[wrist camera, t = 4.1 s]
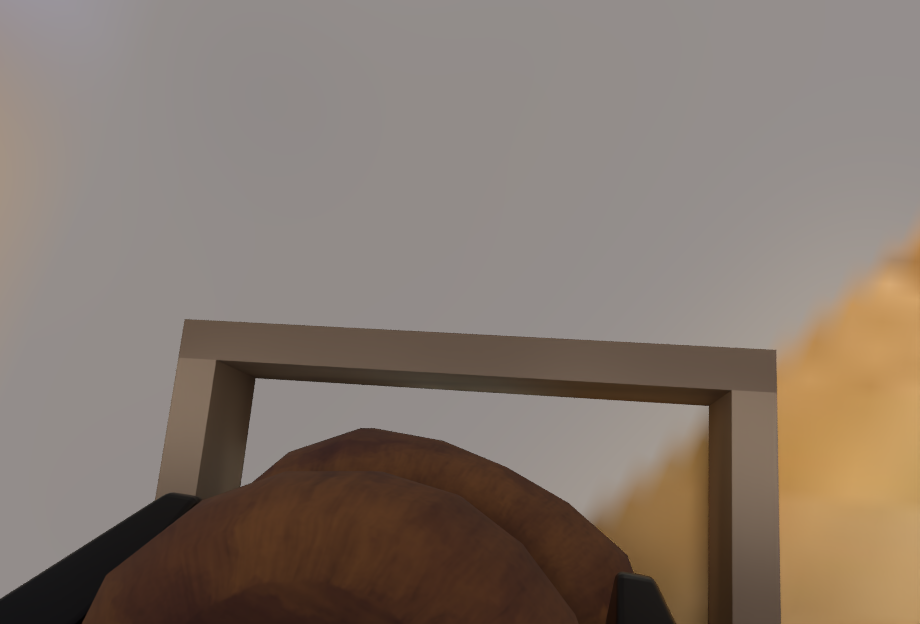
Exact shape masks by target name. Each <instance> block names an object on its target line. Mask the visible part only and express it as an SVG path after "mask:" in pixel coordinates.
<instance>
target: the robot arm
mask: <svg viewBox="0 0 920 624" xmlns="http://www.w3.org/2000/svg"><path fill="white" fill-rule="evenodd" d="M201 501H202V499H201V498H200V497H198V496H193V495H188V494H182V493H176V492H171V493H168V494H165V495H163V496H161V497H160V498H158V499H157V500H155V501H153V502H152V503H150V504H149V505H147V506H146V507H144V508H143V509H141V510H139V511H138V512H136V513H135V514H133V515H132V516H130V517H128V518H127V519H125V520H124V521H122V522H120V523H119V524H117V525H116V526H114V527H113V528H111V529H109V530H108V531H106V532H105V533H103V534H102V535H100V536H98V537H97V538H95V539H94V540H92V541H91V542H89V543H87V544H86V545H84V546H83V547H81V548H80V549H78V550H76V551H75V552H73V553H72V554H70V555H69V556H67V557H66V558H64V559H62V560H61V561H59V562H57V563H56V564H54V565H53V566H51V567H50V568H48V569H46V570H45V571H43V572H42V573H40V574H39V575H37V576H35V577H34V578H32V579H31V580H29V581H28V582H26V583H24V584H23V585H21V586H20V587H18V588H17V589H15V590H13V591H12V592H10V593H9V594H7V595H6V596H4V597H3V598H1V599H0V624H82V622H83V620H84V618H85V616H86V614H87V612H88V610H89V608H90V606H91V604H92V602H93V600H94V598H95V596H96V594H97V592H98V590H99V588H100V586H101V584H102V582H103V580H104V578H105V576H106V575H107V574H108V573H109V572H111V571H112V570H113V569H115V568H116V567H117V566H118V565H120V564H121V563H122V562H124V561H125V560H126V559H127V558H129V557H130V556H131V555H133V554H134V553H135V552H136V551H138V550H139V549H140V548H142V547H143V546H144V545H145V544H147V543H148V542H149V541H151V540H152V539H153V538H154V537H156V536H157V535H158V534H160V533H161V532H162V531H163V530H165V529H166V528H167V527H169V526H170V525H171V524H172V523H174V522H175V521H176V520H178V519H179V518H180V517H181V516H183V515H184V514H185V513H187V512H188V511H189V510H190V509H192V508H193V507H194V506H196V505H197V504H198V503H199V502H201ZM606 624H676V623H675V621H674V619H673V617H672V615H671V612H670V610H669V608H668V606H667V604H666V602H665V600H664V598H663V596H662V594H661V592H660V590H659V587H658V586H657V584H656V582H655V581H654V579H652V578H651V577H649V576H645V575H640V574H634V573H628V572H619V573H617V575H616V576H615V579H614V584H613V589H612V594H611V599H610V604H609V608H608V613H607V618H606Z"/></svg>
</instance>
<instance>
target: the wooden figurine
mask: <svg viewBox="0 0 920 624" xmlns="http://www.w3.org/2000/svg"><path fill="white" fill-rule="evenodd" d="M619 572H628V573H633V570H632V567H631V565H630V562H629V559H628V556H627V555H626V554H625V553H624V552H623V551H622V550H621V549H620V548H619V547H617V546H616V545H615V544H614V543H613V542H612V541H611V540H610V539H608V538H607V537H606V536H605V535H604V534H603V533H602V532H601V531H599V530H598V529H597V528H596V527H595V526H594V525H593V524H591V523H590V522H589V521H588V520H587V519H586V518H585V517H584V516H582V515H581V514H580V513H579V512H578V511H577V510H576V509H575V508H573V507H572V506H571V505H570V504H569V503H567V502H566V501H564V500H562V499H561V498H559V497H557V496H555V495H554V494H552V493H550V492H548V491H547V490H545V489H543V488H541V487H540V486H538V485H536V484H535V483H533V482H531V481H529V480H528V479H526V478H524V477H523V476H521V475H519V474H517V473H516V472H514V471H512V470H510V469H509V468H507V467H505V466H502V465H500V464H498V463H495V462H493V461H490V460H487V459H485V458H483V457H480V456H478V455H476V454H473V453H471V452H469V451H466V450H464V449H461V448H459V447H456V446H454V445H451V444H449V443H447V442H444V441H440V440H435V439H430V438H424V437H419V436H413V435H408V434H403V433H397V432H392V431H386V430H381V429H375V428H360V429H357V430H354V431H351V432H348V433H345V434H342V435H339V436H336V437H333V438H330V439H327V440H324V441H321V442H318V443H315V444H312V445H309V446H306V447H303V448H300V449H297V450H294V451H291V452H289V453H288V454H286V455H285V456H284V457H283V458H281V459H280V460H279V461H278V462H276V463H275V464H274V465H273V466H272V467H271V468H269V469H268V470H267V471H266V472H265V473H263V474H262V475H261V476H260V477H258V478H257V479H256V480H255V481H253V482H252V483H250V484H248V485H245V486H242V487H239V488H236V489H233V490H230V491H227V492H225V493H222V494H219V495H216V496H213V497H210V498H207V499H204V500H202V501H201V502H199V503H198V504H197V505H196V506H194V507H193V508H192V509H190V510H189V511H188V512H187V513H185V514H184V515H183V516H181V517H180V518H179V519H178V520H176V521H175V522H174V523H172V524H171V525H170V526H169V527H167V528H166V529H165V530H163V531H162V532H161V533H160V534H158V535H157V536H156V537H154V538H153V539H152V540H151V541H149V542H148V543H147V544H145V545H144V546H143V547H142V548H140V549H139V550H138V551H136V552H135V553H134V554H133V555H131V556H130V557H129V558H127V559H126V560H125V561H124V562H122V563H121V564H120V565H118V566H117V567H116V568H115V569H113V570H112V571H111V572H109V573H108V574H107V575H106V576H105V578H104V580H103V582H102V584H101V586H100V588H99V590H98V592H97V594H96V596H95V598H94V600H93V602H92V604H91V606H90V608H89V610H88V612H87V614H86V616H85V618H84V620H83V622H82V624H606V618H607V613H608V608H609V604H610V599H611V594H612V589H613V584H614V579H615V576H616V575H617V573H619Z"/></svg>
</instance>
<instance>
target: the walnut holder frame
mask: <svg viewBox="0 0 920 624" xmlns="http://www.w3.org/2000/svg"><path fill="white" fill-rule="evenodd" d="M255 378H264V379H280V380H296V381H312V382H329V383H330V382H331V383H345V384H361V385H378V386H394V387H410V388H426V389H444V390H459V391H477V392H493V393H508V394H524V395H541V396H558V397H574V398H590V399H607V400H624V401H639V402H655V403H672V404H688V405H704V406H709V592H708V624H781V606H780V548H779V489H778V431H777V373H776V350H766V349H745V348H726V347H708V346H689V345H670V344H650V343H631V342H612V341H611V342H610V341H592V340H573V339H555V338H535V337H516V336H497V335H477V334H458V333H439V332H420V331H399V330H382V329H360V328H343V327H324V326H305V325H286V324H266V323H247V322H227V321H209V320H189V319H185V321H184V327H183V334H182V339H181V346H180V352H179V358H178V364H177V370H176V376H175V382H174V388H173V394H172V400H171V406H170V412H169V419H168V425H167V431H166V437H165V444H164V449H163V455H162V461H161V467H160V473H159V479H158V486H157V492H156V498H155V500H157V499H158V498H160V497H161V496H163V495H165V494H168V493H171V492H176V493H182V494H188V495H193V496H198V497H200V498H201V499H202V500H204V499H207V498H210V497H213V496H216V495H219V494H222V493H225V492H227V491H230V490H233V489H236V488H239V487H240V485H241V478H242V470H243V463H244V456H245V449H246V442H247V435H248V428H249V420H250V414H251V406H252V399H253V392H254V385H255Z"/></svg>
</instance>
